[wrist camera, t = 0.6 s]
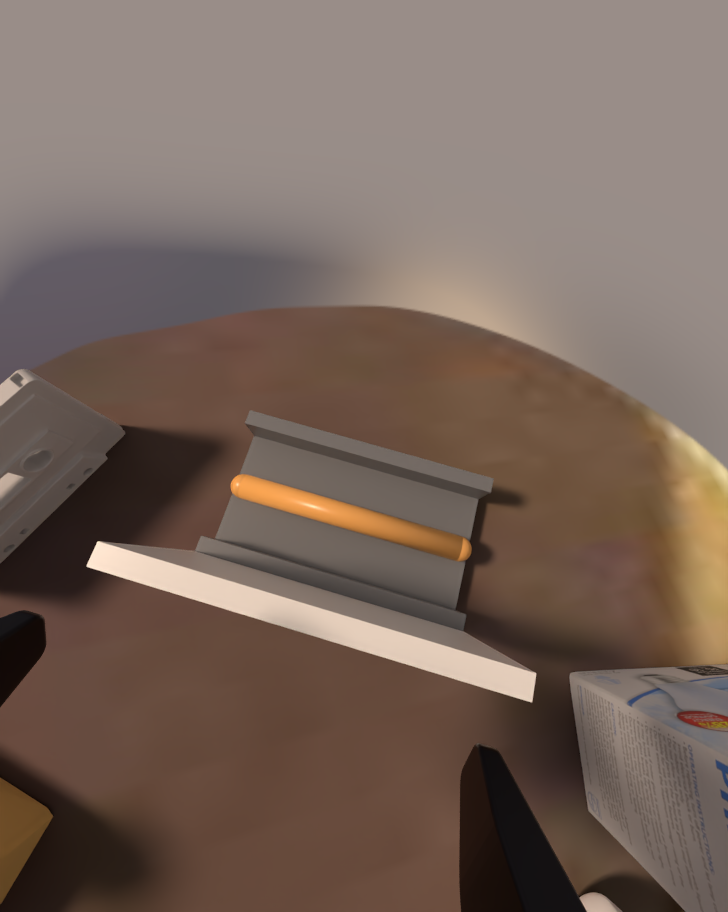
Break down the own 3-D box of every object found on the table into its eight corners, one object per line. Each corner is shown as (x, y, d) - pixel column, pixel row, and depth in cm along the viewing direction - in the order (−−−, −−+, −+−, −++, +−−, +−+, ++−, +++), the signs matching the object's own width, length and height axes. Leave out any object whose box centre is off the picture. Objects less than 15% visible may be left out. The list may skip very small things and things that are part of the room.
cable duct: (448, 623, 23) (463, 631, 20) (214, 553, 23) (195, 551, 20) (477, 488, 25) (493, 478, 22) (261, 428, 25) (250, 410, 22)
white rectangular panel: (463, 631, 20) (460, 648, 19) (194, 550, 20) (188, 566, 20) (536, 673, 12) (532, 702, 12) (97, 541, 13) (86, 566, 12)
